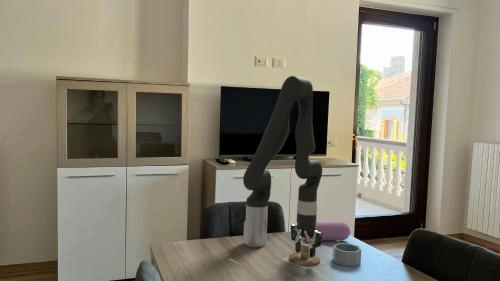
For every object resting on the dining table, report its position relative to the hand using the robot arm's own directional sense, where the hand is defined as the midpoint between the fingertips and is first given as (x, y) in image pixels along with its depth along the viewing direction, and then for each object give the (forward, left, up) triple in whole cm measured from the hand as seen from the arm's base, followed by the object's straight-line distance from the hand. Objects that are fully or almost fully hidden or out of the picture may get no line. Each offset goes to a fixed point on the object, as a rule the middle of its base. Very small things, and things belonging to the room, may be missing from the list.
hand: (304, 254), depth 157 cm
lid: (0, 0, -2) cm, 2 cm away
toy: (-10, +29, -3) cm, 31 cm away
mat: (0, 0, -3) cm, 3 cm away
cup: (+11, +12, -3) cm, 17 cm away
